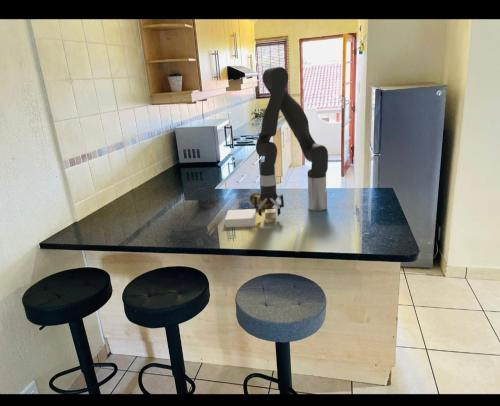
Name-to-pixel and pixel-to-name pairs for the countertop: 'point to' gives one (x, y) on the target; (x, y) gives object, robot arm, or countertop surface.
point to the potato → (260, 201)
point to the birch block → (270, 215)
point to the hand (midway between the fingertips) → (269, 215)
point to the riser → (240, 218)
